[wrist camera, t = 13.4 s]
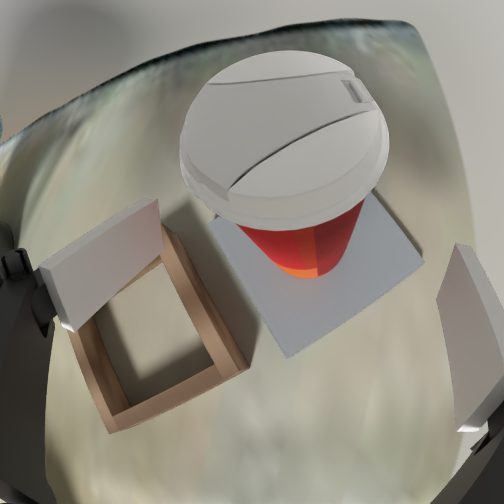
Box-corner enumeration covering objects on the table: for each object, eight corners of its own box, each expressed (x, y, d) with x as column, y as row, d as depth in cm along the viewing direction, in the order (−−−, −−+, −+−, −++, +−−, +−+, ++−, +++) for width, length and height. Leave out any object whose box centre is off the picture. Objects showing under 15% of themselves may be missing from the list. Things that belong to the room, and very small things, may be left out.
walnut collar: (80, 307, 27) (59, 302, 24) (178, 236, 26) (161, 223, 23) (129, 427, 22) (109, 434, 19) (249, 367, 22) (239, 371, 19)
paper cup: (340, 182, 23) (339, 29, 10) (373, 276, 21) (436, 173, 8) (244, 210, 24) (161, 81, 11) (266, 307, 22) (175, 248, 9)
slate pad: (211, 228, 26) (207, 224, 25) (330, 153, 25) (330, 146, 24) (288, 358, 21) (286, 358, 20) (421, 265, 21) (425, 262, 20)
